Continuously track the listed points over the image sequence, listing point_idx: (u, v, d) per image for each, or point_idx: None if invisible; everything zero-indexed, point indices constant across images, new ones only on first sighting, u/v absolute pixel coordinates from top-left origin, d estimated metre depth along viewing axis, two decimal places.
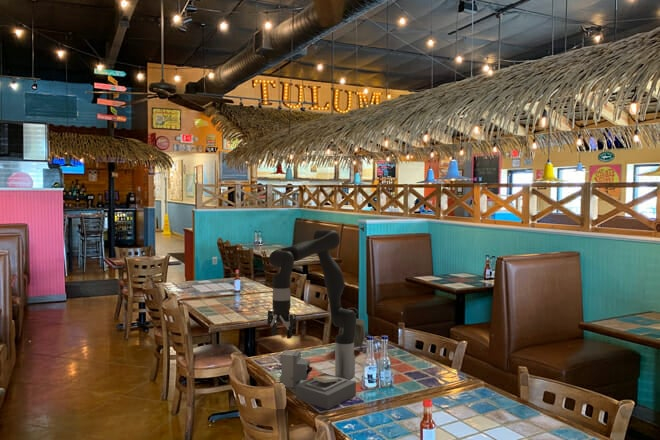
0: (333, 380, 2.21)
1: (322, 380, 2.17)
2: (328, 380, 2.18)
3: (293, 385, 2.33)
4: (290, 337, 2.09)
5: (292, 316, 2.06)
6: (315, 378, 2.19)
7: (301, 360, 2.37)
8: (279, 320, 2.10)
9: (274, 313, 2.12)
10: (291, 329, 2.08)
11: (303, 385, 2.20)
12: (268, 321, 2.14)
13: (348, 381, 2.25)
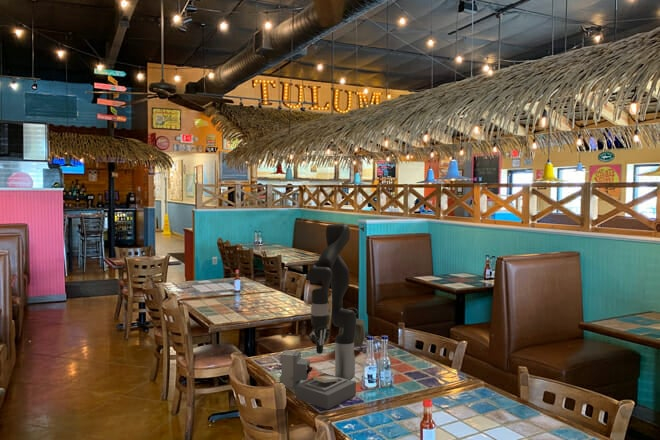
0: (333, 380, 2.21)
1: (322, 380, 2.17)
2: (328, 380, 2.18)
3: (293, 385, 2.33)
4: None
5: None
6: (315, 378, 2.19)
7: (301, 360, 2.37)
8: None
9: (317, 333, 2.14)
10: None
11: (303, 385, 2.20)
12: (317, 342, 2.14)
13: (348, 381, 2.25)
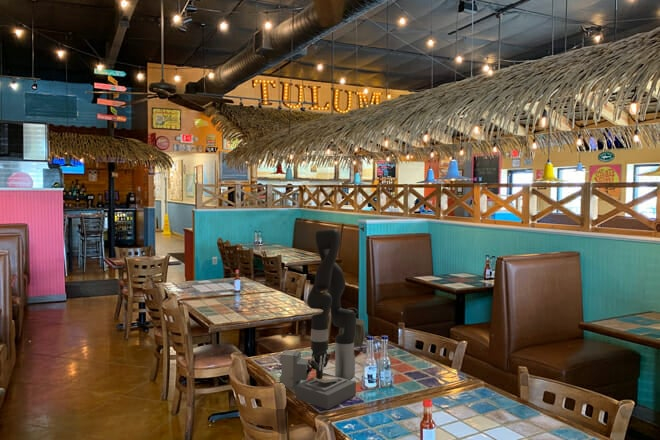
0: (333, 380, 2.21)
1: (322, 380, 2.17)
2: (328, 380, 2.18)
3: (293, 385, 2.33)
4: None
5: None
6: (315, 378, 2.19)
7: (301, 360, 2.37)
8: None
9: (317, 359, 2.15)
10: None
11: (303, 385, 2.20)
12: (317, 368, 2.15)
13: (348, 381, 2.25)
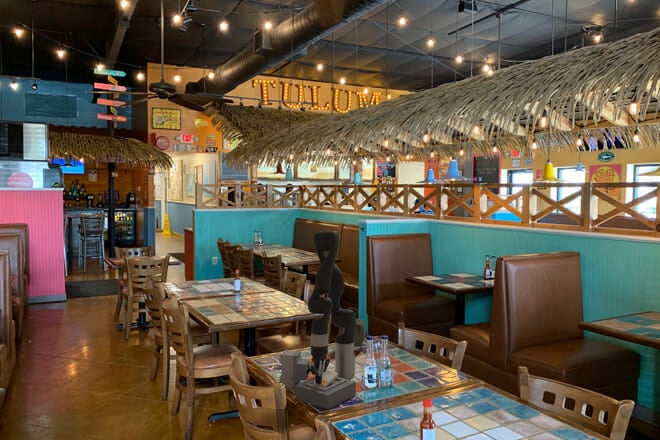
0: (333, 378, 2.21)
1: (322, 386, 2.17)
2: (328, 382, 2.18)
3: (293, 385, 2.33)
4: None
5: None
6: (315, 384, 2.19)
7: (301, 360, 2.37)
8: None
9: (316, 364, 2.14)
10: None
11: (303, 385, 2.20)
12: (316, 373, 2.14)
13: (348, 381, 2.25)
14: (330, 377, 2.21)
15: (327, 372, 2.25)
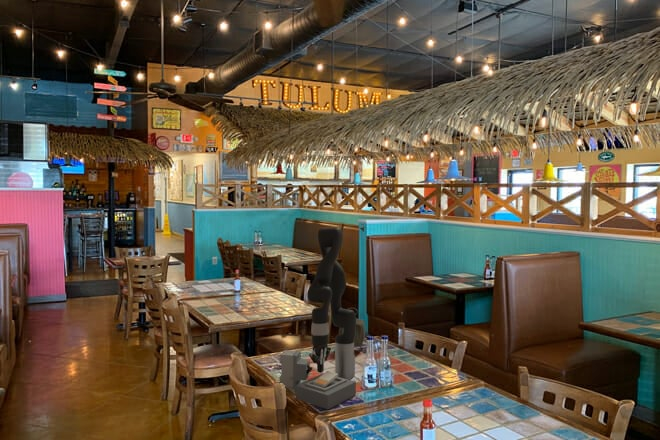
0: (333, 379, 2.21)
1: (322, 385, 2.17)
2: (328, 382, 2.18)
3: (293, 385, 2.33)
4: None
5: None
6: (315, 383, 2.19)
7: (301, 360, 2.37)
8: None
9: (317, 352, 2.15)
10: None
11: (303, 385, 2.20)
12: (318, 361, 2.15)
13: (348, 381, 2.25)
14: (330, 377, 2.21)
15: (327, 372, 2.25)
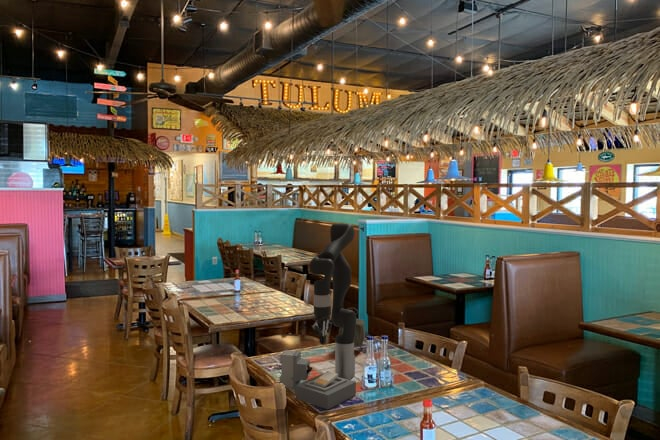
0: (333, 379, 2.21)
1: (322, 385, 2.17)
2: (328, 382, 2.18)
3: (293, 385, 2.33)
4: None
5: None
6: (315, 383, 2.19)
7: (301, 360, 2.37)
8: None
9: (320, 324, 2.16)
10: None
11: (303, 385, 2.20)
12: (320, 333, 2.16)
13: (348, 381, 2.25)
14: (330, 377, 2.21)
15: (327, 372, 2.25)
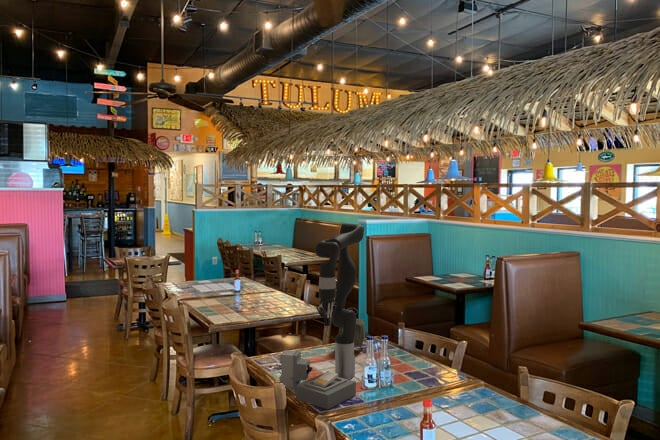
0: (333, 379, 2.21)
1: (322, 385, 2.17)
2: (328, 382, 2.18)
3: (293, 385, 2.33)
4: None
5: None
6: (315, 383, 2.19)
7: (301, 360, 2.37)
8: None
9: (325, 306, 2.20)
10: None
11: (303, 385, 2.20)
12: (325, 315, 2.20)
13: (348, 381, 2.25)
14: (330, 377, 2.21)
15: (327, 373, 2.25)
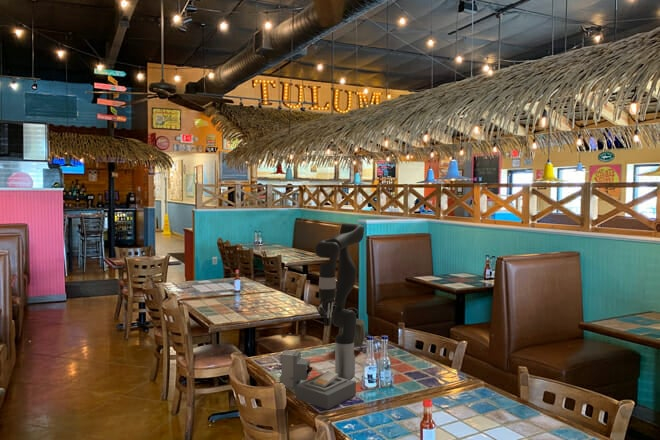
0: (333, 379, 2.21)
1: (322, 385, 2.17)
2: (328, 382, 2.18)
3: (293, 385, 2.33)
4: None
5: None
6: (315, 383, 2.19)
7: (301, 360, 2.37)
8: None
9: (325, 306, 2.20)
10: None
11: (303, 385, 2.20)
12: (325, 315, 2.20)
13: (348, 381, 2.25)
14: (330, 377, 2.21)
15: (327, 373, 2.25)
